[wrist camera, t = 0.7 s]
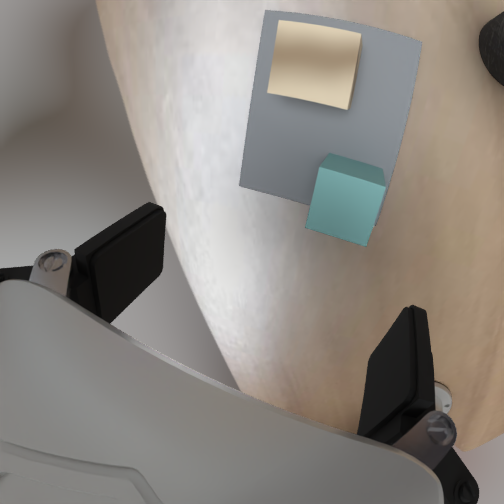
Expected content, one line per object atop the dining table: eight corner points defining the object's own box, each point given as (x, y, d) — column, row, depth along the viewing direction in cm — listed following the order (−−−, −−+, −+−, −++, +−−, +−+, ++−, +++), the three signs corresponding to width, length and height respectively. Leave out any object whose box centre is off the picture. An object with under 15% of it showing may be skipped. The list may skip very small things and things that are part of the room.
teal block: (367, 218, 28) (366, 246, 23) (317, 202, 29) (305, 227, 24) (382, 168, 25) (386, 187, 20) (329, 152, 26) (319, 166, 21)
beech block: (350, 108, 24) (347, 109, 19) (284, 93, 25) (267, 92, 21) (362, 45, 20) (361, 33, 16) (294, 32, 22) (278, 19, 18)
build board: (375, 221, 29) (375, 226, 28) (242, 183, 32) (239, 186, 31) (420, 43, 19) (422, 41, 18) (268, 12, 22) (265, 10, 21)
